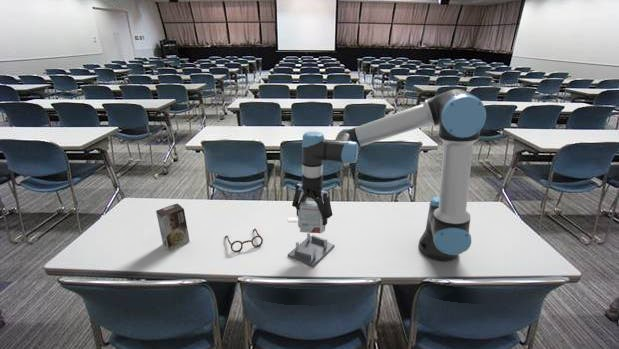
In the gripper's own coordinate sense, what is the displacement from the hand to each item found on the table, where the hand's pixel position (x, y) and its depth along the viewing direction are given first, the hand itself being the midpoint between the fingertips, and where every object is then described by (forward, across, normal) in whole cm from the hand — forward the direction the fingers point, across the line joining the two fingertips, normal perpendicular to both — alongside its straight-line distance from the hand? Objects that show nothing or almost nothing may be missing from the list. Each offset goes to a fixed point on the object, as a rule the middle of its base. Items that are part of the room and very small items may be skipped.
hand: (311, 227), depth 127 cm
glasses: (+12, +28, +10) cm, 32 cm away
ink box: (+1, 0, 0) cm, 1 cm away
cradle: (+11, 0, 0) cm, 11 cm away
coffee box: (+12, +50, +27) cm, 58 cm away
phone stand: (+12, +18, -18) cm, 28 cm away
